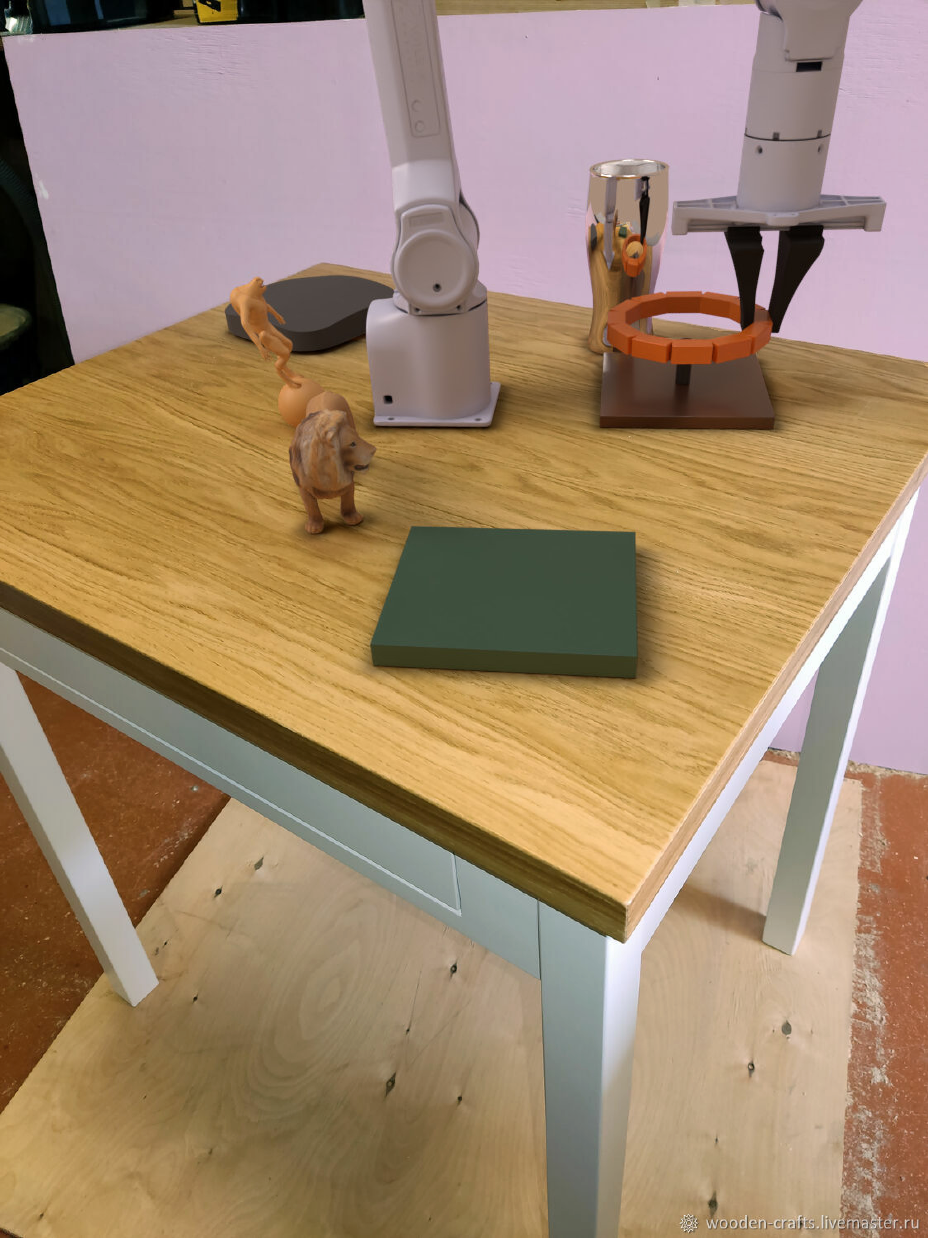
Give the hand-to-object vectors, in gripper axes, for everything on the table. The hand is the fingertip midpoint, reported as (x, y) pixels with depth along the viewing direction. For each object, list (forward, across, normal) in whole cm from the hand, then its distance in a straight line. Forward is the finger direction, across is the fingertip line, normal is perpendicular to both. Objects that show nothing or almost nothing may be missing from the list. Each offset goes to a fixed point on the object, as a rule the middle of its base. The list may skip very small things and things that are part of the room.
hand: (759, 328), depth 71 cm
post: (+5, -5, 0) cm, 8 cm away
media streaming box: (+6, -41, +17) cm, 45 cm away
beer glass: (+6, -10, +11) cm, 16 cm away
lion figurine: (+6, -29, -19) cm, 35 cm away
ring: (0, -6, 0) cm, 6 cm away
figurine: (+6, -36, -7) cm, 37 cm away
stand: (+5, -16, -30) cm, 35 cm away
